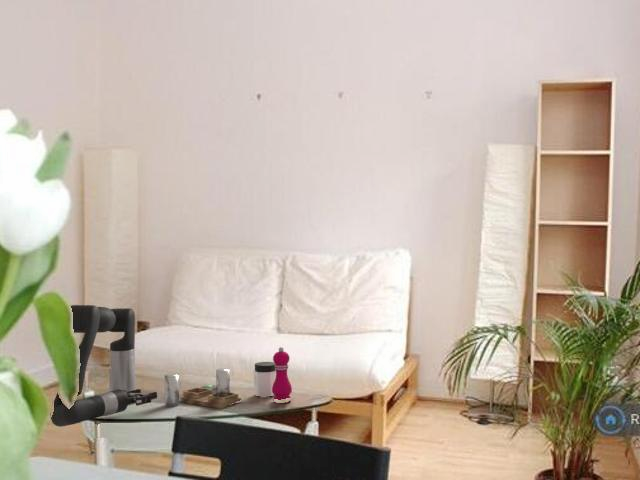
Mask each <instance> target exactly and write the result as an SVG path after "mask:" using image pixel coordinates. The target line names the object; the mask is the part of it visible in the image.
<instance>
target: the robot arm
mask: <svg viewBox="0 0 640 480" xmlns="http://www.w3.org/2000/svg"><path fill="white" fill-rule="evenodd" d="M70 306H71V308H72V312H73V329H74V333H73V334H77V333H78V334H79V333H80V334H81V333H82V334H83V337H82V340H81V342H80V344H79V345H78V346H79V349H80V363H81V366H80V373H79V392H78V395H77V397H79V396H80V395H81V394H82V392H83V389H84V383H85V382H84V381H85V375H86V372H87V371H86V370H87V366H88V362H89V359H90V356H91V353H92V350H93V347H94V343H95V340H96V337H97V334H98V333H106V332H110V333H124V334H123V336H122V337H120V339H117V340H114V341H111V342H110V344H109V345H110V346H109V357H110V359H109V360H110V368H109V370H108V371H109V372H108V373H109V375H108V376H109V377H108V378H109V382H108V383H109V391H105V392H102V393H101V392H100V393H99V394H97V395H93V396H89V397H88V396H87V397H86V398H83V399H75V400H74V401H75V402H74V405H73V406H72V407H71V408H70V409H68V408H67V407H66V406H65V405H64V404H63V403H62V401H61V399H60V398H59V395H58V392H57V393H56V395H55V398H54V400H53V402H54V412H53V415H52V417H51V416H50V421H51V423H52V424H53V425H54V426H56V427H61V428H62V427H67V426H71V425H75V424H78V423H81V422H85V421H87V420H93V419H97V418H101V417H107V416H110V415H115V414H118V413H122V412H124V411H126V409H128V408H127V407H129V406H134V405H135V406H141V405H145V404H150V403H152V400H155V399H157V398H158V392H157V391H153V392H152V391H151V392H149V393H142V390H141V389H140V388H138V389H137V388H136V356H135V355H136V353H135V350H136V349H135V348H136V347H135V345H136V344H135V340H136V339H135V338H136V334H135V333H136V332H135V331H136V314H135V311H134V309H133V308H130V307H129V308H127V307H126V308H123V307H122V308H109V307H105V306H97V305H92V304H71V305H70ZM135 389H136V390H135ZM110 390H111V391H110Z"/></svg>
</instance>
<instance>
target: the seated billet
mask: <svg viewBox="0 0 640 480" xmlns="http://www.w3.org/2000/svg"><path fill="white" fill-rule="evenodd" d="M215 386H216V396H218V397H227V396H230V392H231V371H230V368H226V367H225V368H218V369H217V368H216V369H215Z"/></svg>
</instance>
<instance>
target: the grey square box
mask: <svg viewBox="0 0 640 480" xmlns="http://www.w3.org/2000/svg"><path fill="white" fill-rule="evenodd" d="M211 385H212V384H211ZM204 386H205V385H202V386H199V387H200V388H204ZM206 389H208V388H206ZM209 389H212V390H213V394H215V393H216V385H212V388H209Z"/></svg>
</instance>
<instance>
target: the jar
mask: <svg viewBox="0 0 640 480" xmlns="http://www.w3.org/2000/svg"><path fill="white" fill-rule="evenodd" d="M275 365H276V364H275V363H274V361H260V362H255V363H254V370H253V390H254V391H253V394H255V396H256V395H257V396H271V395H274V394H273V392H272V387H273V384H274V381H275V379H276V369H275ZM257 396H256V397H257Z"/></svg>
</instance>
